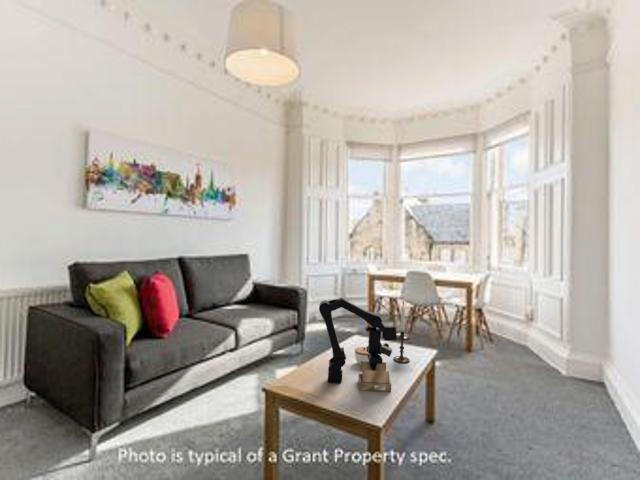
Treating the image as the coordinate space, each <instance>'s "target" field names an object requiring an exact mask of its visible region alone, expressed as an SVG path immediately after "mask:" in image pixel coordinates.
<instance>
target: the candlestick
mask: <svg viewBox="0 0 640 480" xmlns="http://www.w3.org/2000/svg"><path fill="white" fill-rule="evenodd" d="M400 310H401V313H400V314H401V315H400V316H401V317H400V318H401V319H400V330H398V332H396V334H397V339H396V340H399V341H400V346H399V354H400V355H397V356H396V355H395V356H394V357H393V358H392V359H393V361H394V362H396V363H398V364H408V363H410V360H411V359H410V358H408V357H407V356H404V353H405V351H404V349H405V347H404V341H410V340H412V339H413V336H412V335H411V334H409V333H406V332H407V331H406V330H405V319H406V318H405V315H406V313H405V312H406V311H405V310H406V307H405V300H403V301H402V307H401V309H400Z"/></svg>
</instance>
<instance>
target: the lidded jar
mask: <svg viewBox="0 0 640 480" xmlns="http://www.w3.org/2000/svg"><path fill="white" fill-rule="evenodd" d="M368 355H369V353H368V352H367V346H359V347H355V349H354V357H355V360H356V362H357V364H358V365H359V366H361V361H365V362H369V360H368Z"/></svg>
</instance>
